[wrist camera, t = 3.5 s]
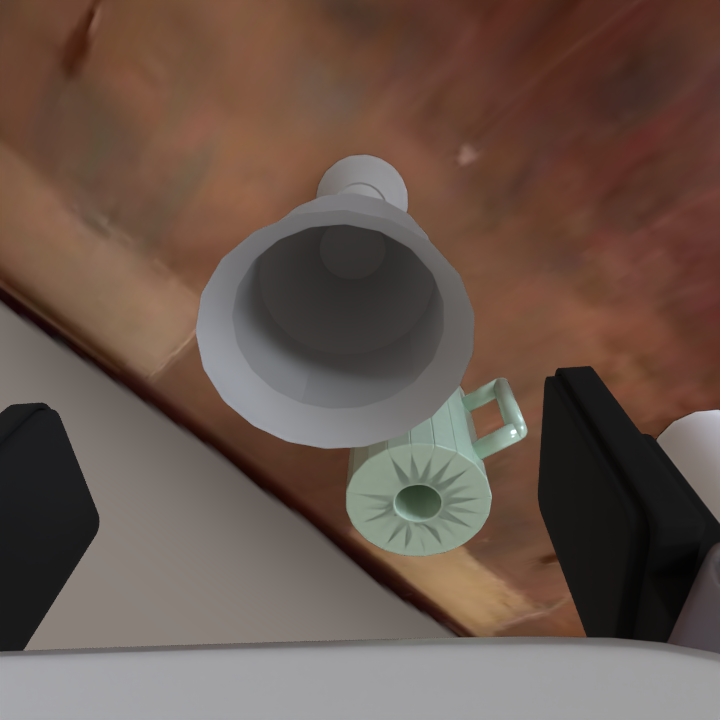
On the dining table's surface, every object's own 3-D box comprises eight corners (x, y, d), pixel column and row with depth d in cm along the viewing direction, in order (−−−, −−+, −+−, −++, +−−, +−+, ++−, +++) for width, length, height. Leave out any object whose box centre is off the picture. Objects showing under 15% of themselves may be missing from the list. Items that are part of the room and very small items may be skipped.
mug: (395, 478, 39) (397, 575, 32) (331, 401, 36) (316, 487, 29) (530, 408, 36) (568, 496, 28) (470, 318, 33) (495, 389, 26)
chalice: (314, 275, 32) (244, 467, 16) (280, 155, 30) (154, 248, 14) (438, 247, 31) (491, 424, 15) (415, 120, 28) (452, 176, 12)
